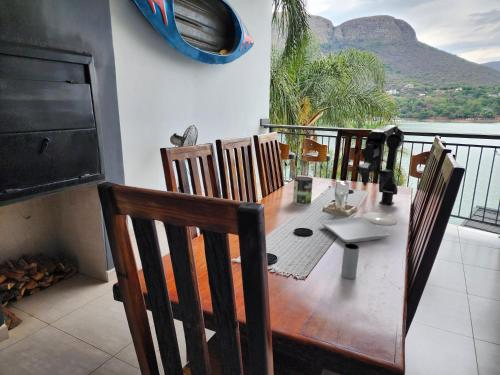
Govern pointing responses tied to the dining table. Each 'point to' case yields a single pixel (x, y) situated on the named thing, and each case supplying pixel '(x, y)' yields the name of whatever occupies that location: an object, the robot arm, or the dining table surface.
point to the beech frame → (344, 213)
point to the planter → (350, 260)
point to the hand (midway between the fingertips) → (372, 187)
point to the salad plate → (354, 229)
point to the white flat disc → (379, 218)
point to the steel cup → (341, 195)
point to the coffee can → (302, 190)
